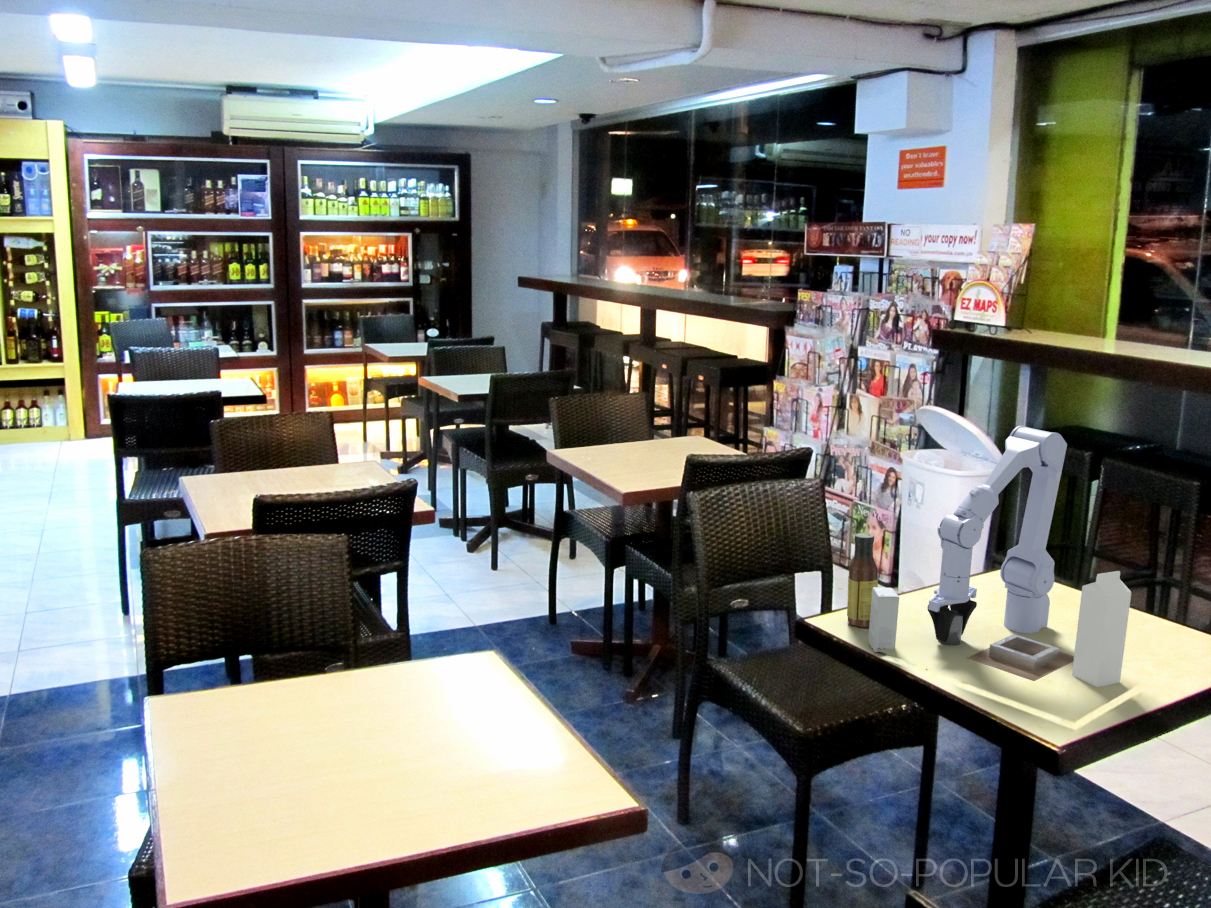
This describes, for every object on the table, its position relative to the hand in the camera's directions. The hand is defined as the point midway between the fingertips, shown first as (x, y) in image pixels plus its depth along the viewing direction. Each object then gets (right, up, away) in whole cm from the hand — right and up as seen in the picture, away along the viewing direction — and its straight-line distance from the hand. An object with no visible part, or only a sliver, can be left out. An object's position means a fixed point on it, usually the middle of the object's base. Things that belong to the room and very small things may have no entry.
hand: (949, 637), depth 217 cm
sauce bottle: (-15, +1, +12) cm, 20 cm away
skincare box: (-14, -2, -1) cm, 15 cm away
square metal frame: (+12, -3, -8) cm, 15 cm away
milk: (+22, -6, -17) cm, 28 cm away
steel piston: (0, -2, 0) cm, 2 cm away
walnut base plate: (+12, -4, -7) cm, 15 cm away
